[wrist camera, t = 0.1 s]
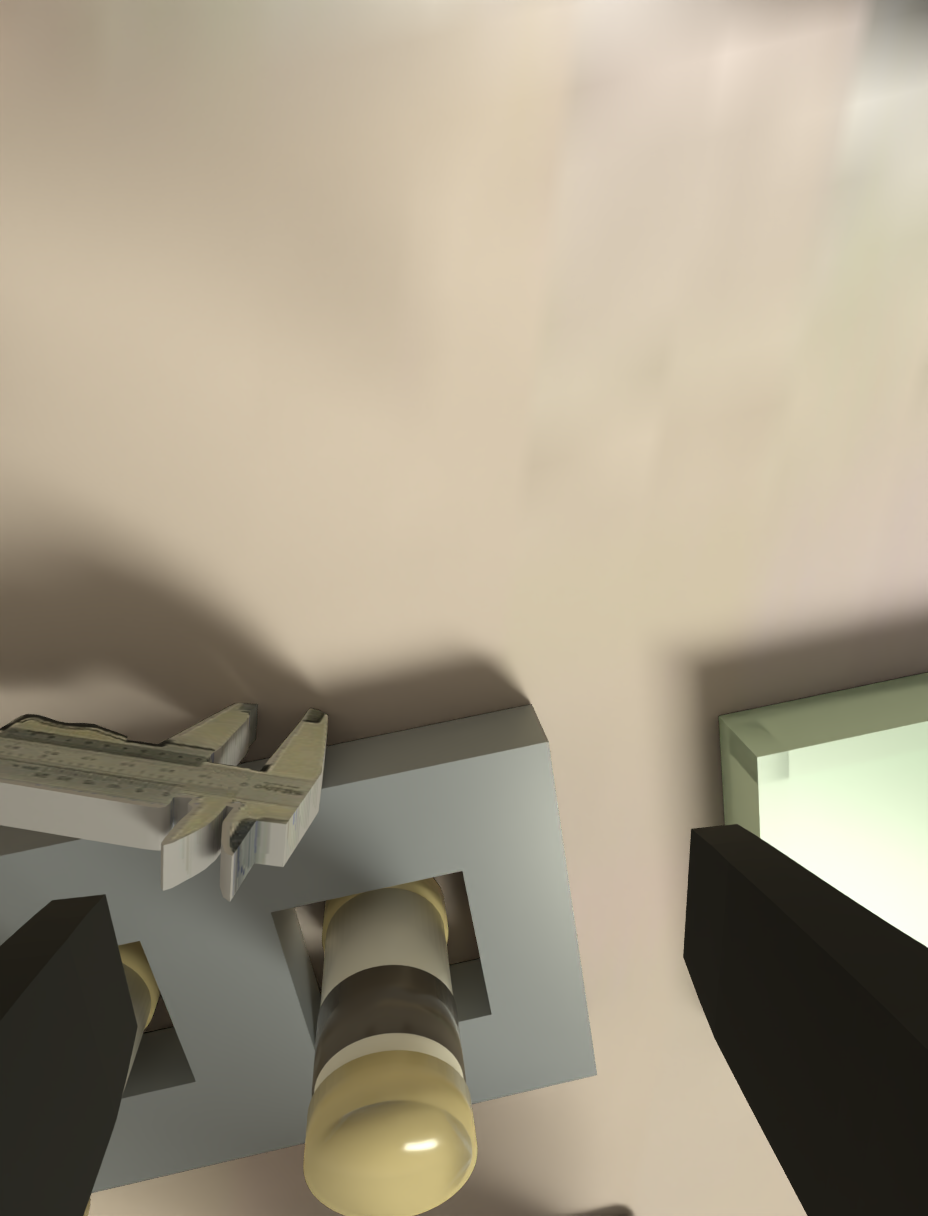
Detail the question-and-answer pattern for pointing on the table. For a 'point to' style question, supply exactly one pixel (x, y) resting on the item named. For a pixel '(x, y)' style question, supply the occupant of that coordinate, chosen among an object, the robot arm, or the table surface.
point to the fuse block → (277, 955)
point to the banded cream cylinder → (388, 1059)
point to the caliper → (167, 790)
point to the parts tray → (840, 790)
